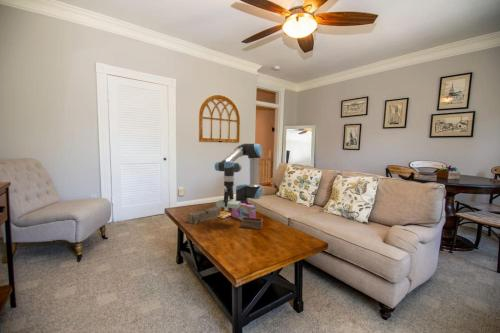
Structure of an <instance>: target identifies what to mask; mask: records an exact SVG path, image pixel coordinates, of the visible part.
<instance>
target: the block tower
mask: <svg viewBox="0 0 500 333" xmlns="http://www.w3.org/2000/svg"><path fill="white" fill-rule="evenodd" d="M221 211H222V207H216V205H215V206H212V207H207V208H204V209H203V210H202V209H200V210H195V211H191V212H188V213H187V222H188V223H189V222H190V224H195V225H196V224H199V223H202V222H207V221H211V220H213V219H217V218H219V217H218V216H219V215H220V216H221Z"/></svg>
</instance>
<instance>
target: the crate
mask: <svg viewBox="0 0 500 333" xmlns="http://www.w3.org/2000/svg"><path fill="white" fill-rule="evenodd" d="M263 222H264V220H263V218H260V217H256V218H249V217H243V218H242V219H241V220H240V228H244V229H254V230H255V229H256V230H262V229H263V226H264V225H263V224H264V223H263Z"/></svg>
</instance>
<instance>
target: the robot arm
mask: <svg viewBox="0 0 500 333" xmlns="http://www.w3.org/2000/svg"><path fill="white" fill-rule="evenodd" d="M262 155H263V148H262V146H261V144H260V143H241V144H240V145H238V146H236V147H235V148H234V149H233V151H232V152H231V153H230V154H229V155H227V156H226V157H225V158H224V159H223V160H221V161H216V162H215V163H214V170H215V171H216V172H224V174H223V179H224V180H223V186H224V187H225V188H224V192H223V200H224V201H223V202H225V207H223V209H224V212H229V208H228V200H229V201H233V200H234V199H235V201H237V200H239V201H243V202H246V203H249V201H248V199H252V200H259V199H261V198H262V194H263V187H261V184H259V183H260V181H259V179H260V178H259V161H260V160H259V159H260V158H261V157H262ZM242 156H247V158H248V160H249V184H245V183H244V184H239V185H236V186H235V198H234V185H235V184H234V183H235V182H234V181H235V173H238V172H241V170H242V167H243V166H242V164H241V163H240V162H235V161H237V160H238V159H239V158H241V157H242Z"/></svg>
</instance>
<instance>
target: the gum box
mask: <svg viewBox="0 0 500 333" xmlns="http://www.w3.org/2000/svg"><path fill="white" fill-rule="evenodd" d="M237 201H239V200H237ZM231 217H232V218H235V219H238V220H240V221H241V219H242V218H243V217H249V218H257V204H254V203H249V202H248V203H246V202H243V201H241V205H240V206H239V207H238V208H231Z"/></svg>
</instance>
